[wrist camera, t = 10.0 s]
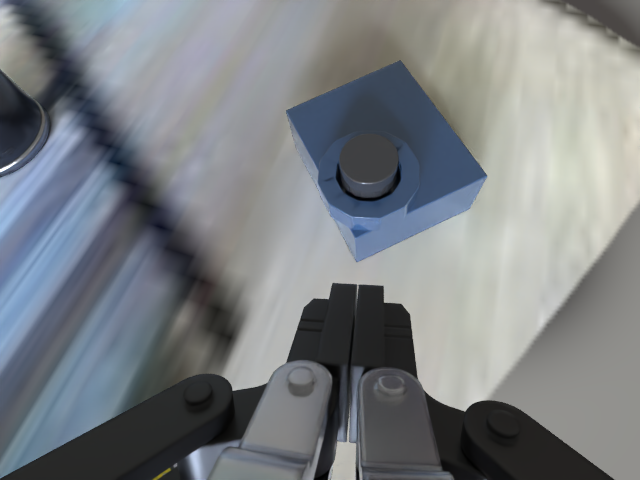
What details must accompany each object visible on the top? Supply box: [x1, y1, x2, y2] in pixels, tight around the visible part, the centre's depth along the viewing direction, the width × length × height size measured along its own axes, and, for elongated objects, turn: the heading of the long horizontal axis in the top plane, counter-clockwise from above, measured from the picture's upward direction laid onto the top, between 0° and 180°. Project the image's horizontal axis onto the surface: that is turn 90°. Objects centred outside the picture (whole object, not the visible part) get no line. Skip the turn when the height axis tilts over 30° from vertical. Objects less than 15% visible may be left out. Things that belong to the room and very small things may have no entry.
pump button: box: [339, 134, 399, 199], centre depth 25 cm, size 4×4×2 cm
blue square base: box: [286, 60, 487, 262], centre depth 30 cm, size 12×11×7 cm
